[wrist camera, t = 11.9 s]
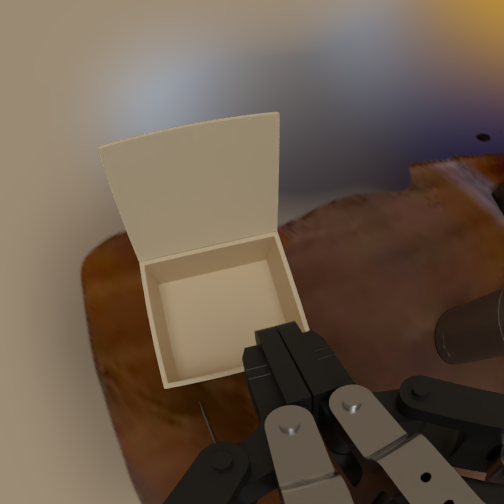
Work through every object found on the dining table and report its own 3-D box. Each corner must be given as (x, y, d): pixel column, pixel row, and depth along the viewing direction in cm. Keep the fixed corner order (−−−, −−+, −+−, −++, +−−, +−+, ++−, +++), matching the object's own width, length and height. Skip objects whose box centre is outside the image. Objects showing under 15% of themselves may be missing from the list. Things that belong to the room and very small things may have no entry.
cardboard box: (268, 256, 42) (277, 231, 35) (298, 354, 37) (315, 350, 30) (155, 282, 39) (139, 262, 32) (177, 385, 34) (164, 388, 27)
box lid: (277, 230, 35) (275, 226, 35) (279, 113, 24) (276, 111, 25) (139, 261, 32) (139, 257, 32) (97, 149, 22) (99, 146, 22)
